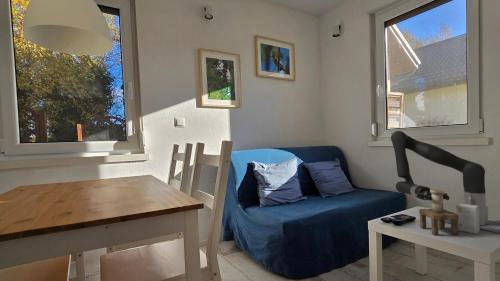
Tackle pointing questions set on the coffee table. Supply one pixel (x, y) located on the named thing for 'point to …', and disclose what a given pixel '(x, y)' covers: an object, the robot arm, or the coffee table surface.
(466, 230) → the small box
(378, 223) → the coffee table surface
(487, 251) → the coffee table surface
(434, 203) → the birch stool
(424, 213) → the walnut footstool
